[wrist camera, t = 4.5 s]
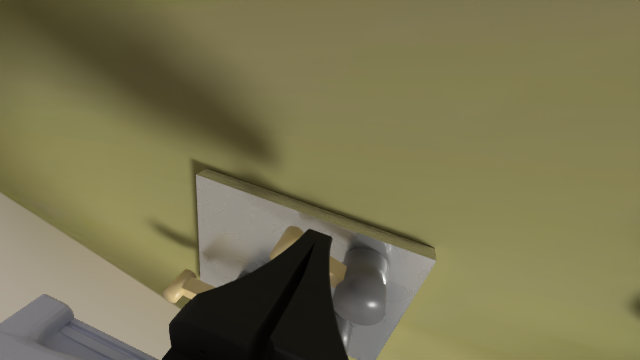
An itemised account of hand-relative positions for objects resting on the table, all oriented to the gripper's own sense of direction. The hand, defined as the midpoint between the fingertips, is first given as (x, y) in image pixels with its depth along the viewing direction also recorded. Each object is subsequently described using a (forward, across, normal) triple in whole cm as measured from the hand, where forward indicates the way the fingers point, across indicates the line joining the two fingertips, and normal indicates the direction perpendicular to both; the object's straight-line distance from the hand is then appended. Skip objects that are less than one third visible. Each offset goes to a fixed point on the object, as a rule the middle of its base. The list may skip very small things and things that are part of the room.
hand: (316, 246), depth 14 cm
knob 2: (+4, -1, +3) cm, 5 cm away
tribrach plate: (+5, +2, +8) cm, 10 cm away
